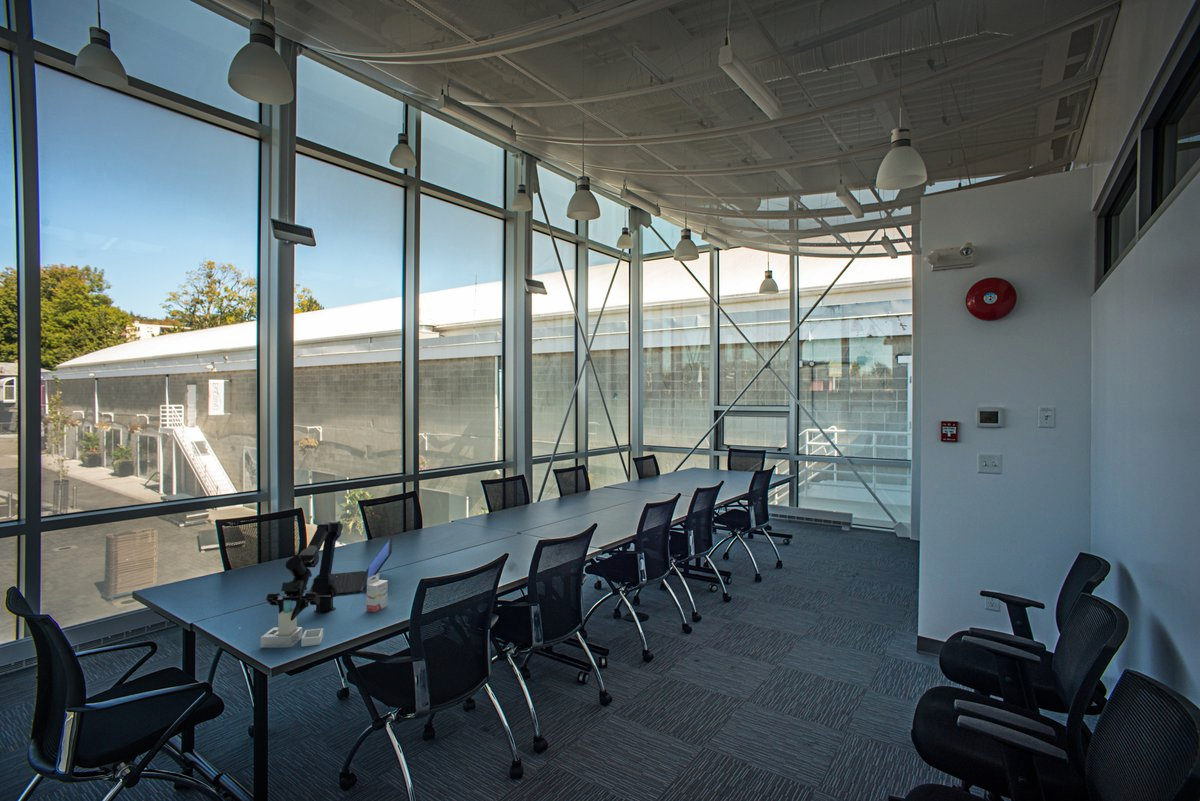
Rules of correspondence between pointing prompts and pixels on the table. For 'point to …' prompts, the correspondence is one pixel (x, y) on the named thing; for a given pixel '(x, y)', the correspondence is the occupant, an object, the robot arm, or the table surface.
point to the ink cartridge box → (376, 593)
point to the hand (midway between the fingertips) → (285, 620)
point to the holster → (312, 637)
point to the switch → (280, 638)
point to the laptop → (360, 574)
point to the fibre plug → (286, 620)
